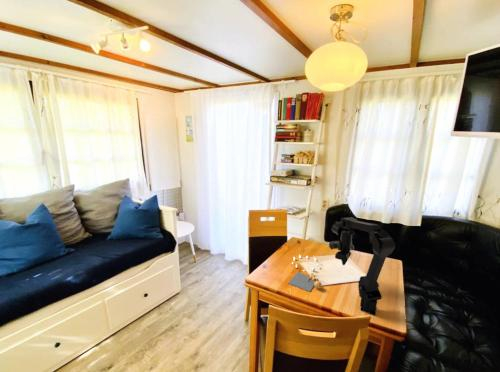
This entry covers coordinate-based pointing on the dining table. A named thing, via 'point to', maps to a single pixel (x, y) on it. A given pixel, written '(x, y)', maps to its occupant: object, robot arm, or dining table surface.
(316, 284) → the figurine
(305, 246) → the dining table surface
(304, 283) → the mat
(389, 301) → the dining table surface
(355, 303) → the dining table surface
